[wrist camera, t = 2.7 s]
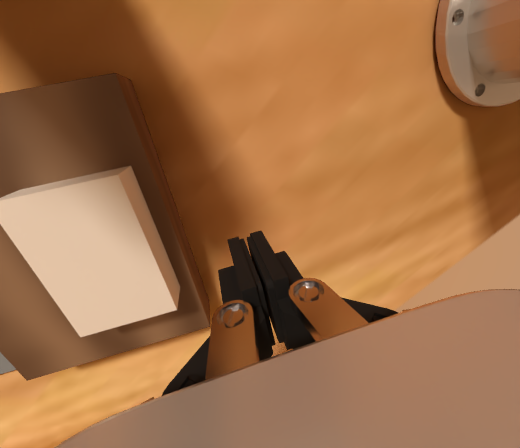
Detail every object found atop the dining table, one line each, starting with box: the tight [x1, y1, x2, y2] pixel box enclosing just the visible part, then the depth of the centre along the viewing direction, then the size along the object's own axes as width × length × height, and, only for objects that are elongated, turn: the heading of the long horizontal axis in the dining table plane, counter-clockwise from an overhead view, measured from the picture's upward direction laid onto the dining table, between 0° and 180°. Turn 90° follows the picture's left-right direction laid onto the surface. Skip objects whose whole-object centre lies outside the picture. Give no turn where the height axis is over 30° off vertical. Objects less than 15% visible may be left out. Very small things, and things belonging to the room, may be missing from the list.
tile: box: [0, 166, 180, 337], centre depth 15 cm, size 6×9×2 cm, turn 11°
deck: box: [0, 73, 210, 380], centre depth 17 cm, size 14×18×3 cm
